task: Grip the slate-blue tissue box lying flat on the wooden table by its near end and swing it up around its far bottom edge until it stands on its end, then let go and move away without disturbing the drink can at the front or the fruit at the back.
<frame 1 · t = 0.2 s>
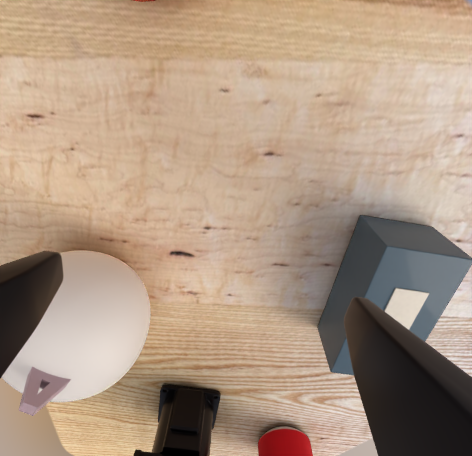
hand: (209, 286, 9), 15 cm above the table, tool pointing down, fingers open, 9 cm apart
beverage can: (283, 435, 37), on the table
ornament: (107, 278, 27), on the table
tissue box: (381, 300, 24), point 3 cm above the table, hinge at 0.0°
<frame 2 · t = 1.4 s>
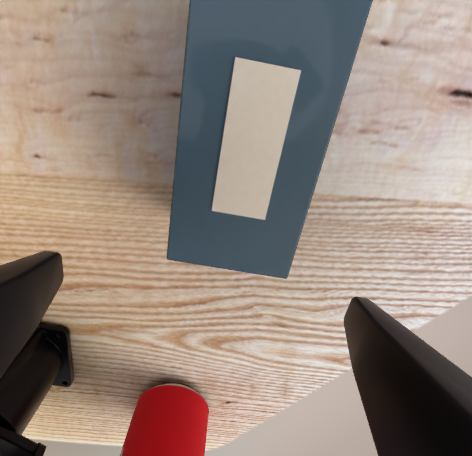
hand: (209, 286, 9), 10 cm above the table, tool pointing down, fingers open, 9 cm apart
beverage can: (175, 398, 27), on the table
tissue box: (250, 136, 14), point 3 cm above the table, hinge at 0.0°
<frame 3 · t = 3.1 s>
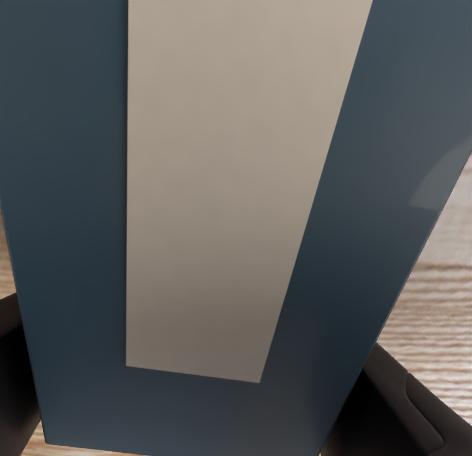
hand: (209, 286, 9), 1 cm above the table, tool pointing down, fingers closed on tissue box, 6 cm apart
tissue box: (225, 173, 6), point 3 cm above the table, hinge at 0.0°, touching gripper
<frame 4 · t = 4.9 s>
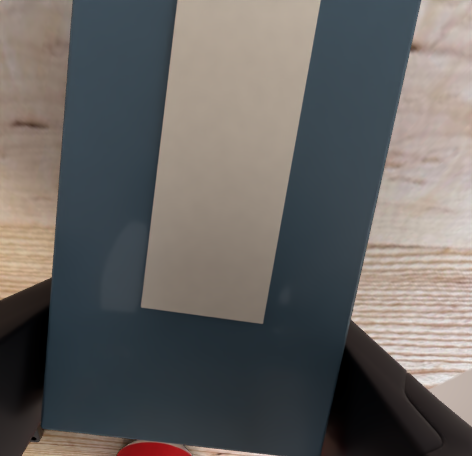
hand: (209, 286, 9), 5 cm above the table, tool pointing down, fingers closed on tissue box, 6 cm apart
beverage can: (160, 449, 24), on the table
tissue box: (226, 168, 8), point 5 cm above the table, hinge at 21.0°, touching gripper
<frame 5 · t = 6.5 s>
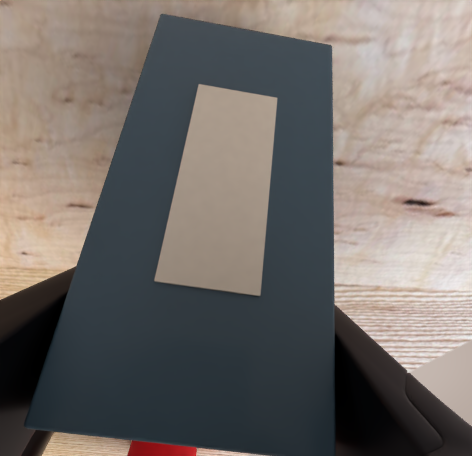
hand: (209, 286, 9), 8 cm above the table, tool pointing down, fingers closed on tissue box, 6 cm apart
beverage can: (166, 436, 30), on the table
tissue box: (219, 215, 10), point 6 cm above the table, hinge at 52.3°, touching gripper
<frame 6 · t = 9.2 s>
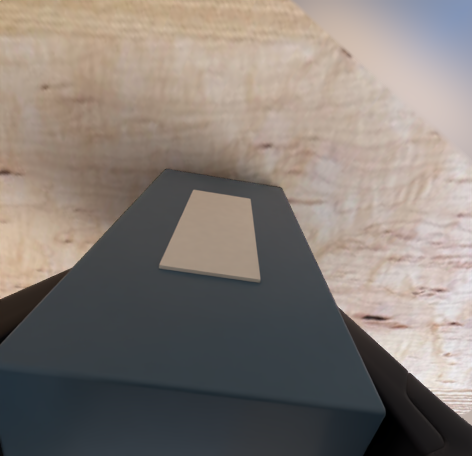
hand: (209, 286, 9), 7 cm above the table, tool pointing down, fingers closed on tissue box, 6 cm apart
tissue box: (207, 287, 11), point 6 cm above the table, hinge at 90.4°, touching gripper
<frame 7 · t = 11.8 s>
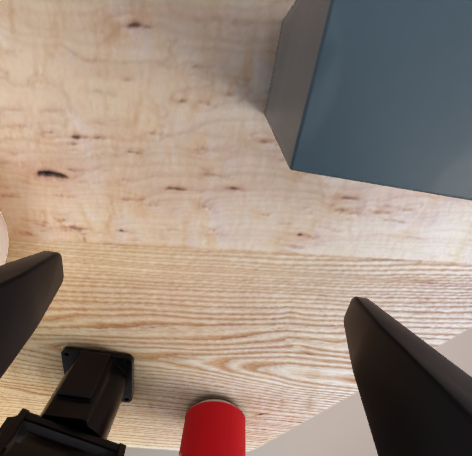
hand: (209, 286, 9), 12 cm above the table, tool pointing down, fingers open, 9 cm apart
beverage can: (216, 410, 32), on the table
tissue box: (357, 80, 12), point 6 cm above the table, hinge at 90.0°
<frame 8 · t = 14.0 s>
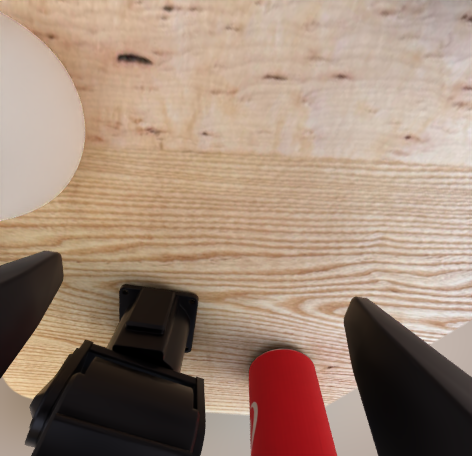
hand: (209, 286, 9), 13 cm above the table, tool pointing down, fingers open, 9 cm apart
beverage can: (280, 364, 29), on the table
ornament: (33, 108, 20), on the table
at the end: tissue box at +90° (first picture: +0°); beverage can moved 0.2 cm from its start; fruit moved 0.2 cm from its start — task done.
